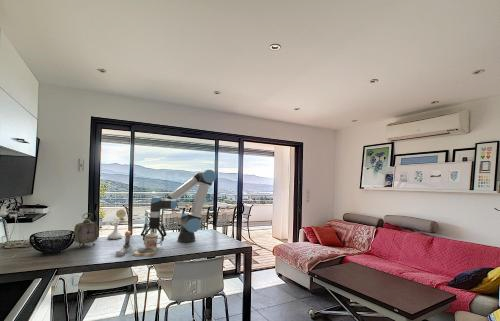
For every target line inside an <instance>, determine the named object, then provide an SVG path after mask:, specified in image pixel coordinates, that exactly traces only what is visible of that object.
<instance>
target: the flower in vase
mask: <svg viewBox="0 0 500 321" xmlns="http://www.w3.org/2000/svg"><path fill="white" fill-rule="evenodd" d="M115 215H116V217H117V218H119V219H116V218H113V220H115V221H113V225H114V230H113V231H112V232H111V233H110V234H108V235H107V238H108V239H110V240H116V239H117V240H118V239H122V237H123V234H122V233H121V232H119V230H118V228H119V227H118V226H119V224H120V221H121V222H123V221H125V220H126V219H125V218H124V217H126V215H127V212H126V210H125V209H122V208H121V209H118V210H117V211H116V213H115Z"/></svg>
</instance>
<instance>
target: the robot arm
mask: <svg viewBox="0 0 500 321" xmlns="http://www.w3.org/2000/svg"><path fill="white" fill-rule="evenodd" d="M216 178H217V175H216V172H215V171H214V170H213V169H210V168H203V169H200V170H199V171H197V172H196V173H194V175H192V177H191V178H190V179H188V180H187V181H186V182H184V183H183V184H182V185H181V186H179V187H178V188H177V189H175V190H173V191H172V192H171V193H170V194H168V195H167V196H166V197H161V196H152V197H151V198H150V199H151V200H150V213H149V222H145V223H144V227H143V229H142V231H141V233H140V236H142V240H143V246H145V241H146V235H148V233H149V232H150V231H151V230H157V231H158V233H159V235H160V238H161V239H160V241H161V242H160V241H159V243H160V244H159V246H163V242H164V240H165V237H166V236H167V231H166V229H165V226H164V225H165V224H164V223H163V222H162V223H161V222H160V220H161V210H176V209H177V206H178V205H177V204H178V202H177V200H179V199H180V198H181V197H183V196H184V195H186V193H188V192H190V191H191V190H192V189H193V188H194V187H197V186H198V187H197V190H196V194H195V197H194V201H193V204H192V206H191V210H190V212H188V213H185V214H184V213H181V216H180V230H179V234H178V237H177V242H179V243H185V244H186V243H193V242H195V241H196V234H195V233H196V232H198V231H199V230H200V229H201V226H202V222H201V220H202V215H201V214H202V211H203V208H204V205H205V201H206V198H207V194H208V192H209V188H210V187H212V185H213V183H214V182H215V181H216ZM148 226H149V228H148V229H147V227H148ZM160 227H161V228H160Z"/></svg>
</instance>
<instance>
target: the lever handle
mask: <svg viewBox="0 0 500 321" xmlns="http://www.w3.org/2000/svg"><path fill="white" fill-rule="evenodd" d="M124 237H125V241H124V244H123V246H122V247H130V246H132V244H131V243H130V242H131V237H132V232H131V231H129V230H127V231H125V233H124Z"/></svg>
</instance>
